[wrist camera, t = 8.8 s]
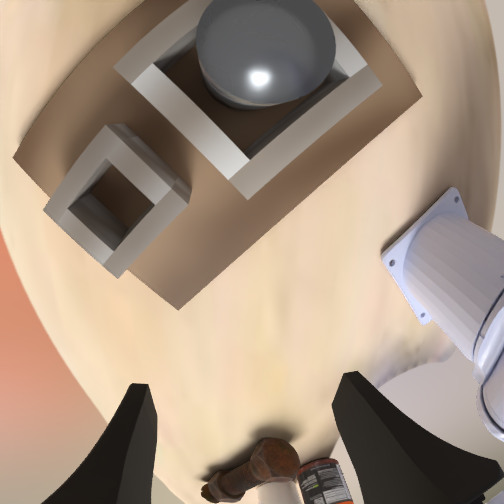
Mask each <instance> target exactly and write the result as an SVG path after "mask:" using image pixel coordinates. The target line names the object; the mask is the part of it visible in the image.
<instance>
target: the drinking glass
mask: <svg viewBox="0 0 504 504" xmlns="http://www.w3.org/2000/svg"><path fill="white" fill-rule="evenodd" d="M257 494H258V502H259V504H302V503H301V500H300V497H299V494H298V491H297V487H296V484H295V482H294V481H290V482H288V483H285V482H270V483H266V484H264V485H261V486H260V487H258V489H257Z"/></svg>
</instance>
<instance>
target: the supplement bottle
mask: <svg viewBox="0 0 504 504" xmlns="http://www.w3.org/2000/svg"><path fill="white" fill-rule="evenodd" d="M297 478H298V482H299V486H300V489H301V493H302V496H303V500H304V503H305V504H354V503H353V500H352V498H351V495H350V492H349V489H348V486H347V484H346V481H345V479H344V476H343V473H342V470H341V468H340V465H339V463H338V461H337V460H335V459H331V458H327V459H319V460H316V461H313V462H311V463H308V464H306V465H304V466H303V467H301V468H300V469H299V471H298V473H297Z"/></svg>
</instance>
